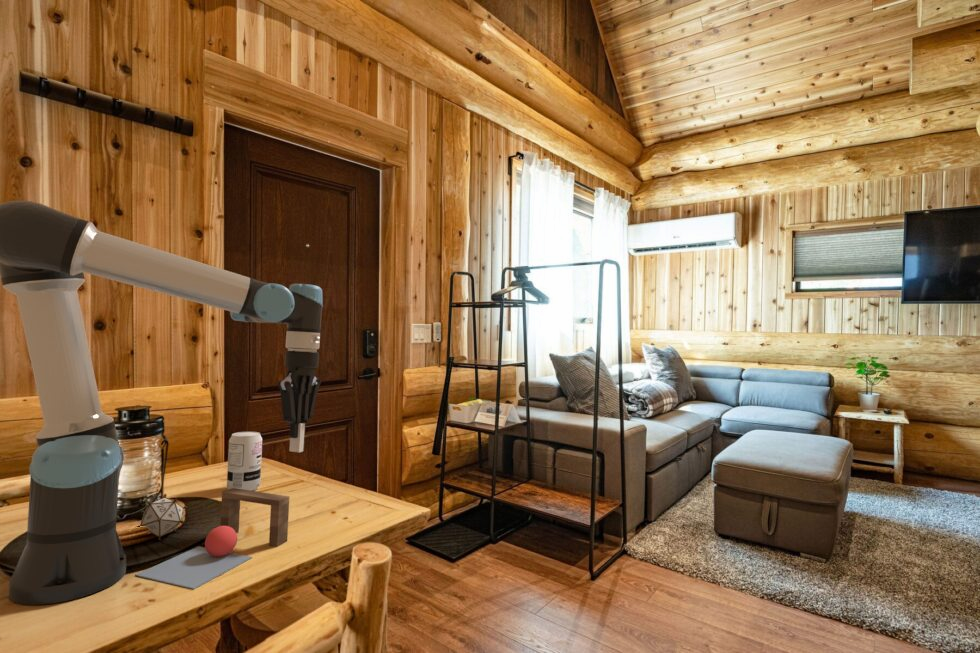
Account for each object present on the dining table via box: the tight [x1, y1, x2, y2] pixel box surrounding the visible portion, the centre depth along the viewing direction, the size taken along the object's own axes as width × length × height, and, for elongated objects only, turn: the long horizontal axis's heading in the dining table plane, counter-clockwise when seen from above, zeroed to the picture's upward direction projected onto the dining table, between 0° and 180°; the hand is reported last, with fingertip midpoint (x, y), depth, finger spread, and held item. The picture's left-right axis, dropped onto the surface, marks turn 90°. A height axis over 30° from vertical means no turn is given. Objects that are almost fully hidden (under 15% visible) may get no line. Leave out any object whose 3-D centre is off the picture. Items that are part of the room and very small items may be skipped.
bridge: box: [219, 488, 290, 547], centre depth 106 cm, size 3×14×9 cm, turn 73°
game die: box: [136, 493, 188, 541], centre depth 105 cm, size 9×8×10 cm
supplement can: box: [226, 431, 263, 491], centre depth 139 cm, size 8×8×15 cm
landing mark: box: [135, 545, 253, 590], centre depth 92 cm, size 13×13×1 cm
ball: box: [204, 525, 238, 557], centre depth 97 cm, size 6×6×6 cm
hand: (296, 451), depth 118 cm, fingers closed
